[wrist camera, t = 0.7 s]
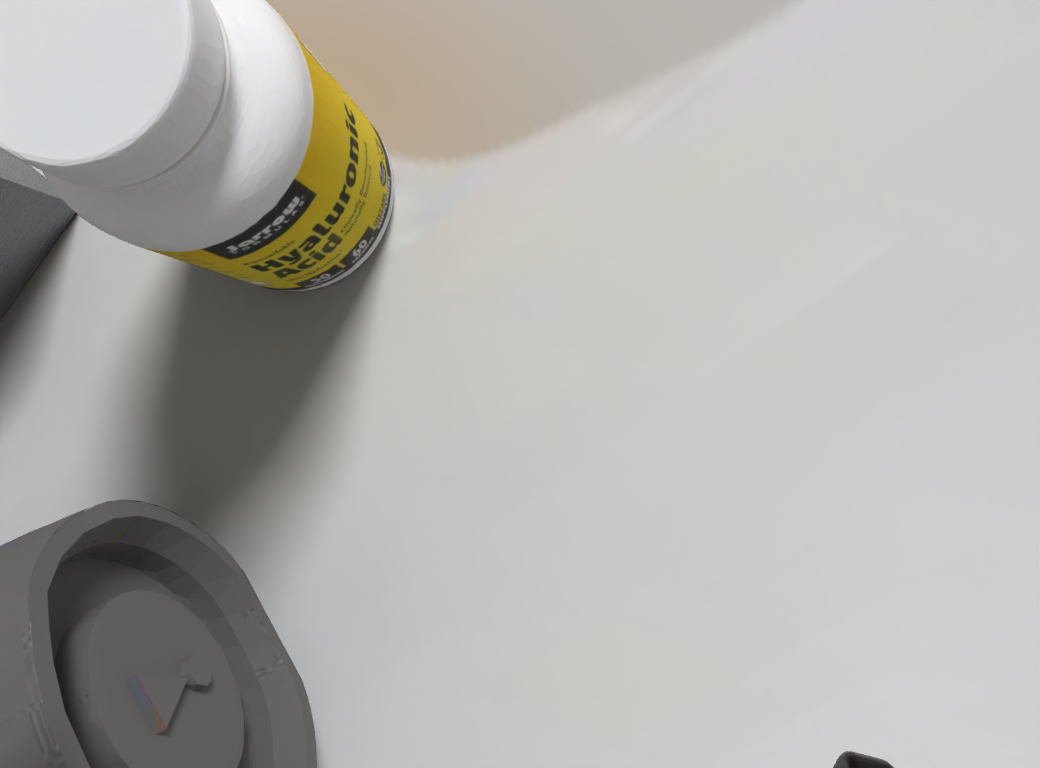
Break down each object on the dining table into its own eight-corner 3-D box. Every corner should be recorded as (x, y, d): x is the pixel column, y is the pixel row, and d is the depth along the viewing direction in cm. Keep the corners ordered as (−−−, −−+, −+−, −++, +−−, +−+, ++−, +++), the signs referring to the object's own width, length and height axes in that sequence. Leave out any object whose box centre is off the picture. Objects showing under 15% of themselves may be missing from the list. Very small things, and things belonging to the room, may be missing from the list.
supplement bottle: (332, 332, 22) (111, 283, 12) (171, 228, 23) (-164, 102, 13) (439, 158, 22) (297, -32, 12) (273, 57, 22) (10, -203, 13)
